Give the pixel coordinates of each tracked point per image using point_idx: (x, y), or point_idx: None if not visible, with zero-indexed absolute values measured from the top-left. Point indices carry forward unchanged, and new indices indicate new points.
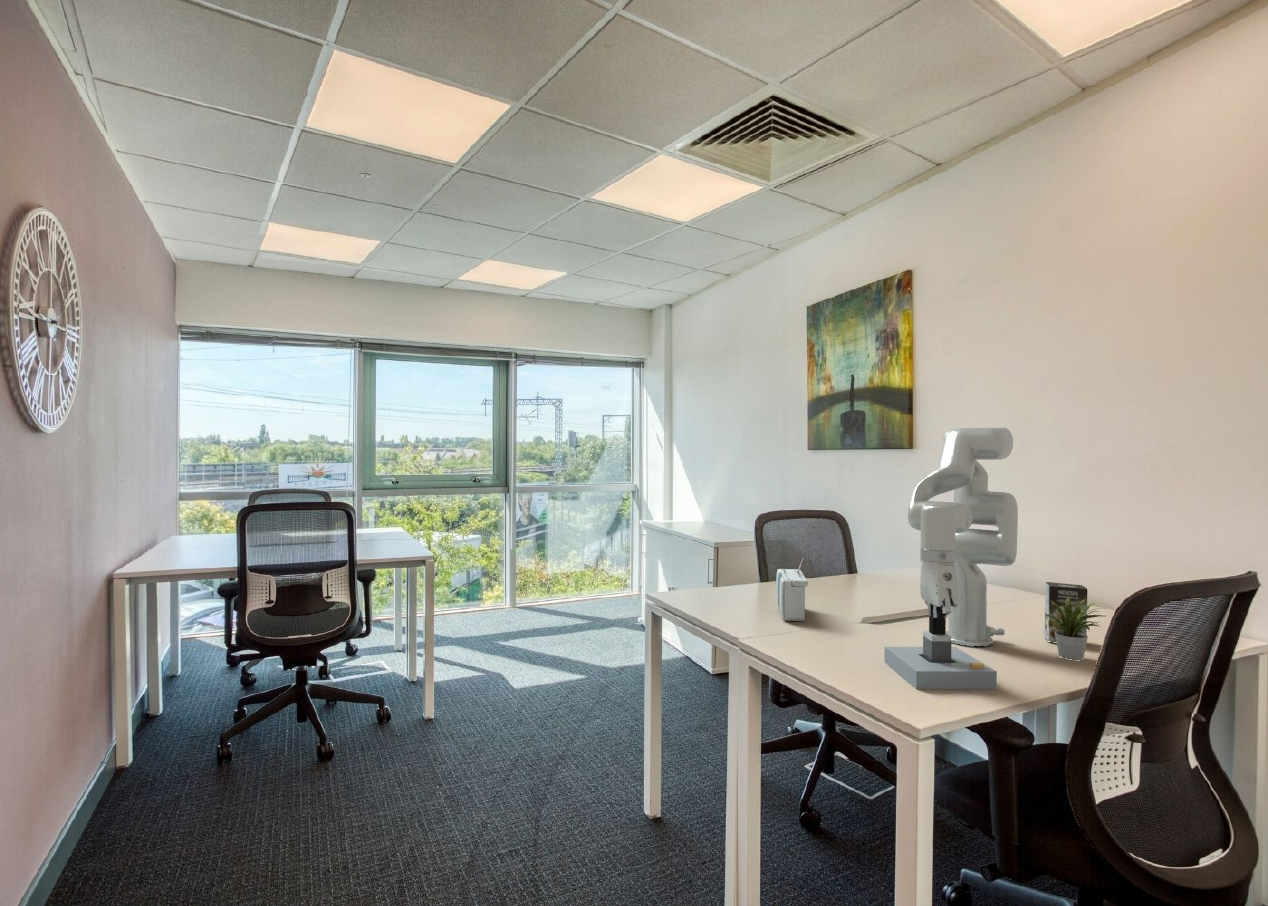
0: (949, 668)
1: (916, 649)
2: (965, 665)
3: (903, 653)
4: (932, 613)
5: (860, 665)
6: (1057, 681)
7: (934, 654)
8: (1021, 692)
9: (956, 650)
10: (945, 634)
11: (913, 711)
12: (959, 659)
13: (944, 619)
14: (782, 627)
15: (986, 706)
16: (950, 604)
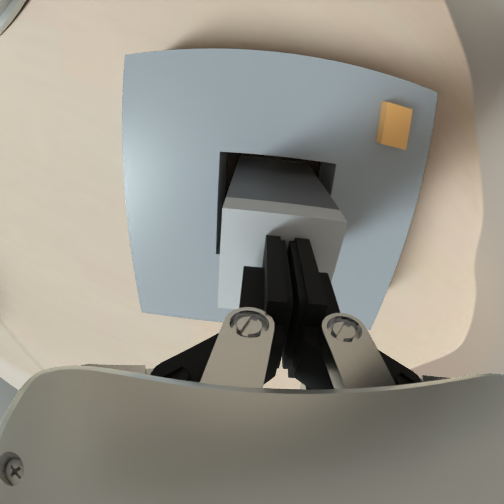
0: (382, 233)
1: (159, 231)
2: (368, 154)
3: (209, 295)
4: (265, 380)
5: (183, 338)
6: None
7: None
8: (430, 44)
9: (171, 71)
10: (307, 235)
11: (432, 340)
12: (297, 128)
13: (322, 302)
14: (6, 342)
15: (475, 207)
16: (393, 387)
